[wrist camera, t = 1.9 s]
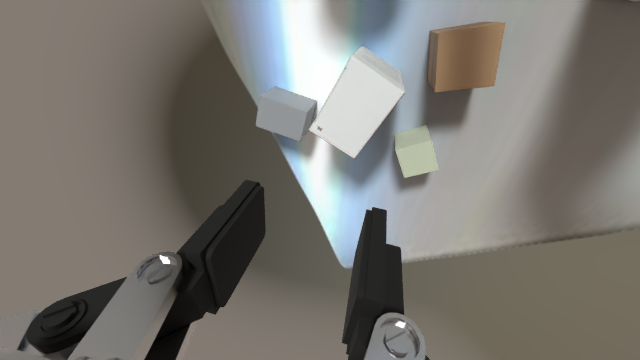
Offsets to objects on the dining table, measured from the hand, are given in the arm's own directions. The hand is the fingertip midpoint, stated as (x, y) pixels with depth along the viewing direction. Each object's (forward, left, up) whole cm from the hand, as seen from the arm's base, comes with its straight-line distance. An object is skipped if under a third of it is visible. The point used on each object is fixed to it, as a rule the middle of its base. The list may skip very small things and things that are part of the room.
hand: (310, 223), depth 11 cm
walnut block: (-9, -5, -25) cm, 27 cm away
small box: (0, 0, -26) cm, 26 cm away
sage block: (-8, +6, -25) cm, 27 cm away
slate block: (+9, +4, -25) cm, 27 cm away
